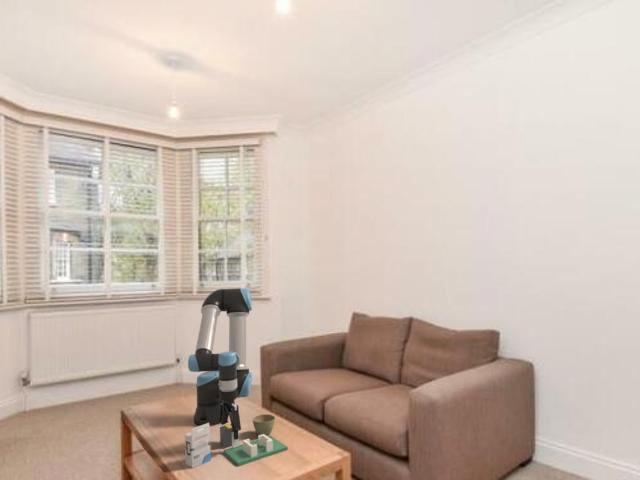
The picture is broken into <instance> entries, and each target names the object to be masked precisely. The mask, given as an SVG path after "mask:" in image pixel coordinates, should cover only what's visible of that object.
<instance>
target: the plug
mask: <svg viewBox="0 0 640 480" xmlns="http://www.w3.org/2000/svg"><path fill="white" fill-rule="evenodd" d="M231 431H232V426H231V423H226V425H224V426H222V425H221V426H220V427H219V438H220V439H219V442H220V447H222V448H223V449H228V448H232V432H231Z"/></svg>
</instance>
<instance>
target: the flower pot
mask: <svg viewBox="0 0 640 480" xmlns="http://www.w3.org/2000/svg"><path fill="white" fill-rule="evenodd" d="M275 421H276V417H275V416H274V415H272V414H266V413H265V414H259V415H258V414H257V415H256V416H253V417H252V424H253V428H254V430H255V431H256V434H257V436H259V435H262V434H264V435H266V436H267V437H268V436H269V435H270V434H271V433H272V431H273V429H274V426H275Z"/></svg>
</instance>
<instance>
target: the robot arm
mask: <svg viewBox="0 0 640 480" xmlns="http://www.w3.org/2000/svg"><path fill="white" fill-rule="evenodd" d="M251 297H252V296H251V292H250V289H249V288H243V287H242V288H241V287H237V288H220V289H217V290H214V291H212V292H211V293H210V294H208V295H207V297H206V298H205V299H204V301H203V302H202V305H201V309H200V313H201V315H202V316H201V320H200V326H199V331H198V334H197V335H198V336H197V342H196V347H195V351H194V352H195V353H194V354H193V353H192V354H190V355H188V356H189V357H188V359H187V360H188V361H187V367H188V368H187V369H188V370H189V372H192V373H193V372H194V373H200V374H198V375H197V377H196V386H195V387H196V408H195V412H194V415H193V424H194V425H195V426H201V425H204V424H207V423H209V427H210V426H215V425H218V424H219V425H220V424H221V427H222V426H224V425H226V424H229V421H228V420H230V424H231V426H232V431H231V432H232V446H231V448H235V447H238V446H239V445H240V443H239V442H240V439H239V438H240V437H239V431H241V430H242V426H241V419H240V411H239V405H238V404H236V402H235V400H237V399H240V398H247V397H249V395H250V392H251V390H252V389H251V388H252V379H253V373H252V372H251V371H250V368H249V367H248V366H247V317H248V316H249V315H250V312H251V311H253V303H252V298H251ZM221 312H226V316H227V317H228V319H229V322H228V327H229V328H228V330H229V331H228V332H229V333H228V351H223V352H220V353H213V350H214V343H215V336H216V329H217V324H218V318H219V316H220V315H221ZM228 418H229V419H228Z"/></svg>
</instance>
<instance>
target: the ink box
mask: <svg viewBox="0 0 640 480" xmlns="http://www.w3.org/2000/svg"><path fill="white" fill-rule="evenodd" d="M184 452H185V454H184V455H185V456H184V457H185V466H188V467H190V468H192V469H194V468H196V467H198V466H200V465H202V464H205V463H207V462H209V461H211V430H210V426H209V423H207V424H204V425H201V426H199V425H197V426H196V427H193V428H191V431H189V432H188V433H185V434H184Z"/></svg>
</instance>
